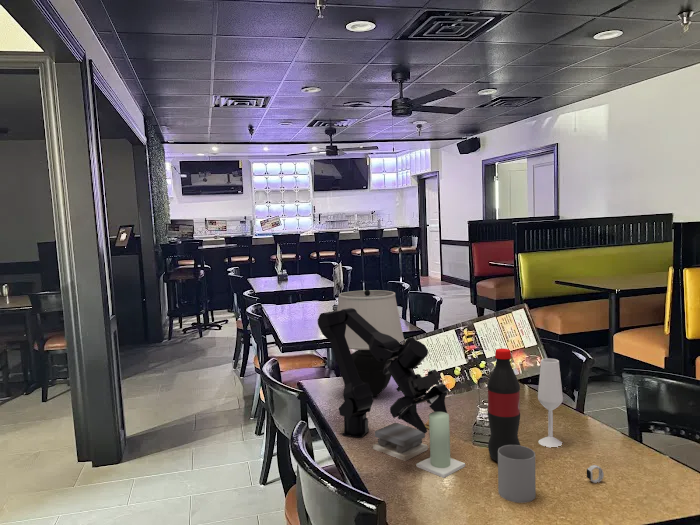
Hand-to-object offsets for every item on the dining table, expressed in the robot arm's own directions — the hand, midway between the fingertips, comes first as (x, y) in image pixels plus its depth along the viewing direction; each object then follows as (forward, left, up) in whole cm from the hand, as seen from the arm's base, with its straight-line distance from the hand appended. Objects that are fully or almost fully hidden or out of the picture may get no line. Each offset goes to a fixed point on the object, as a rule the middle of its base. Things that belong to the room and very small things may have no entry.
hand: (437, 427), depth 141 cm
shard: (-5, +26, -11) cm, 28 cm away
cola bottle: (+16, +10, -10) cm, 21 cm away
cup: (+21, -8, -10) cm, 25 cm away
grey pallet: (-13, +7, -10) cm, 18 cm away
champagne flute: (+27, +25, -10) cm, 38 cm away
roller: (+1, 0, -9) cm, 10 cm away
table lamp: (-38, +50, -10) cm, 64 cm away
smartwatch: (+38, +4, -11) cm, 39 cm away
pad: (+1, 0, -10) cm, 10 cm away
